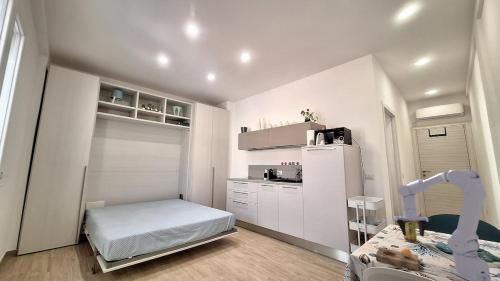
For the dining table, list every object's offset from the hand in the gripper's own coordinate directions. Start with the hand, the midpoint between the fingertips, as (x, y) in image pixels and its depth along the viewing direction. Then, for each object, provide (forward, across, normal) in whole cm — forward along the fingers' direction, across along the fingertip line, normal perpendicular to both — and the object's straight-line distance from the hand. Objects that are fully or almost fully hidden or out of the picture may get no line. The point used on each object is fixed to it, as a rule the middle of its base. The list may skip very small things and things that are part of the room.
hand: (413, 235), depth 104 cm
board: (+10, +11, +7) cm, 16 cm away
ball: (+6, +7, +9) cm, 13 cm away
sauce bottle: (+10, -8, -25) cm, 28 cm away
